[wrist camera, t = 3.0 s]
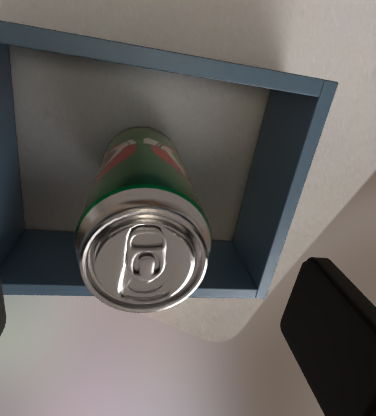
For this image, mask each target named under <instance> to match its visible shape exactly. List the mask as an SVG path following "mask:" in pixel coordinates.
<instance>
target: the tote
mask: <svg viewBox="0 0 376 416" xmlns="http://www.w3.org/2000/svg"><path fill="white" fill-rule="evenodd" d="M8 45H12V46H18V47H24V48H30V49H36V50H42V51H48V52H54V53H60V54H66V55H72V56H78V57H84V58H89V59H95V60H101V61H107V62H113V63H119V64H125V65H131V66H137V67H143V68H149V69H155V70H161V71H167V72H173V73H179V74H185V75H190V76H196V77H202V78H208V79H214V80H220V81H226V82H232V83H238V84H244V85H250V86H256V87H262V88H268V89H271V90H270V94H269V98H268V102H267V106H266V110H265V114H264V118H263V122H262V126H261V130H260V134H259V138H258V142H257V146H256V150H255V154H254V158H253V162H252V166H251V170H250V174H249V178H248V182H247V186H246V190H245V194H244V198H243V202H242V206H241V210H240V214H239V218H238V222H237V226H236V229H235V233H234V237H233V241H216V240H212V247H211V251H210V256H209V258H208V263H207V268H206V272H205V274H204V277H203V279H202V281H201V282H200V284H199V286H198V287H197V288H196V289H195V291H194V292H193V293H192V294H190V295H189V296H188V297H190V298H257V299H265V298H266V296H267V293H268V290H269V287H270V284H271V281H272V278H273V275H274V272H275V269H276V266H277V263H278V260H279V257H280V254H281V252H282V249H283V246H284V243H285V240H286V237H287V234H288V231H289V228H290V225H291V222H292V219H293V216H294V213H295V210H296V207H297V204H298V201H299V198H300V195H301V192H302V189H303V186H304V183H305V180H306V177H307V174H308V171H309V169H310V166H311V163H312V160H313V157H314V154H315V151H316V148H317V145H318V142H319V139H320V136H321V133H322V130H323V127H324V124H325V121H326V118H327V115H328V112H329V109H330V106H331V103H332V100H333V97H334V94H335V91H336V88H337V86H338V82H335V81H330V80H323V79H319V78H313V77H308V76H302V75H297V74H291V73H286V72H280V71H275V70H269V69H264V68H258V67H253V66H247V65H242V64H236V63H231V62H225V61H220V60H215V59H209V58H204V57H198V56H193V55H187V54H182V53H176V52H171V51H165V50H160V49H154V48H149V47H143V46H138V45H132V44H127V43H121V42H116V41H110V40H105V39H99V38H94V37H88V36H83V35H77V34H72V33H66V32H61V31H56V30H50V29H45V28H39V27H34V26H28V25H23V24H17V23H12V22H6V21H1V20H0V275H1V283H2V290H3V295H62V296H94V295H93V294H92V293H91V292H90V291H89V289H88V288H87V286H86V285H85V283H84V281H83V278H82V276H81V271H80V268H79V265H78V263H77V261H76V258H75V253H74V235H75V233H72V232H54V231H36V230H25V228H24V217H23V206H22V194H21V183H20V172H19V160H18V149H17V138H16V126H15V115H14V104H13V93H12V81H11V70H10V59H9V47H8Z"/></svg>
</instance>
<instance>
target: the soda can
mask: <svg viewBox="0 0 376 416" xmlns="http://www.w3.org/2000/svg"><path fill="white" fill-rule="evenodd" d="M211 247H212V236H211V229H210V226H209V223H208V220H207V218H206V216H205V213H204V211H203V209H202V207H201V204H200V202H199V200H198V198H197V195H196V193H195V191H194V188H193V186H192V184H191V182H190V179H189V177H188V175H187V173H186V170H185V168H184V166H183V163H182V161H181V159H180V157H179V154H178V152H177V150H176V148H175V146H174V144H173V143H172V142H171V140H170V139H169V138H168V137H167V136H165V135H164V134H162V133H161V132H159V131H157V130H155V129H151V128H146V127H136V128H130V129H128V130H125V131H123V132H121V133H120V134H118V135H117V136H116V137H115V138H114V139H113V140H112V141H111V143H110V144H109V146H108V148H107V150H106V153H105V155H104V158H103V161H102V163H101V166H100V168H99V171H98V174H97V176H96V179H95V181H94V184H93V186H92V189H91V192H90V194H89V197H88V199H87V202H86V204H85V207H84V210H83V212H82V215H81V217H80V220H79V222H78V225H77V228H76V230H75V235H74V253H75V258H76V261H77V263H78V265H79V268H80V271H81V276H82V278H83V281H84V283H85V285H86V286H87V288H88V289H89V291H90V292H91V293H92V294H93V295H94V296H95V297H96V298H97V299H99V300H100V301H101V302H103V303H105V304H107V305H108V306H110V307H113V308H115V309H118V310H122V311H126V312H133V313H149V312H156V311H160V310H164V309H167V308H169V307H172V306H174V305H176V304H178V303H180V302H181V301H183V300H184V299H186V298H187V297H188V296H189V295H190V294H192V293H193V292H194V291H195V289H196V288H197V287H198V286H199V284H200V282H201V281H202V279H203V277H204V274H205V272H206V268H207V263H208V258H209V256H210V251H211Z"/></svg>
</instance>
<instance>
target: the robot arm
mask: <svg viewBox="0 0 376 416" xmlns="http://www.w3.org/2000/svg"><path fill="white" fill-rule="evenodd" d="M5 323H6V312H5V305H4V297H3V290H2V283H1V275H0V335H1V334H2V332H3V329H4V327H5ZM280 326H281V331H282V333H283V335H284V337H285V339H286V341H287V343H288V345H289V347H290V349H291V351H292V353H293V355H294V357H295V358H296V361H297V362H298V364H299V366H300V368H301V370H302V372H303V374H304V376H305V378H306V380H307V382H308V384H309V386H310V388H311V389H312V391H313V393H314V395H315V397H316V399H317V401H318V403H319V405H320V407H321V409H322V411H323V413H324V415H325V416H376V307H375V306H374V305H373V304H372V303H371V302H370V301H369V300H368V299H367V298H366V297H365V296H364V295H363V294H362V292H361V291H360V290H359V289H357V287H356V286H355V285H354V284H353V283H352V282H351V281H350V280H349V279H348V278H347V277H346V276H345V275H344V274H343V273H342V272H341V271H340V270H339V269H338V268H337V267H336V266H335V264H333V263H332V261H331V260H329V259H328V258H314V257H311V258H309V259H308V260H307V261H305V262H304V263H303V264H302V266H301V268H300V271H299V274H298V276H297V279H296V282H295V284H294V287H293V290H292V292H291V295H290V298H289V300H288V303H287V306H286V308H285V311H284V314H283V316H282V319H281V324H280Z"/></svg>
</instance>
